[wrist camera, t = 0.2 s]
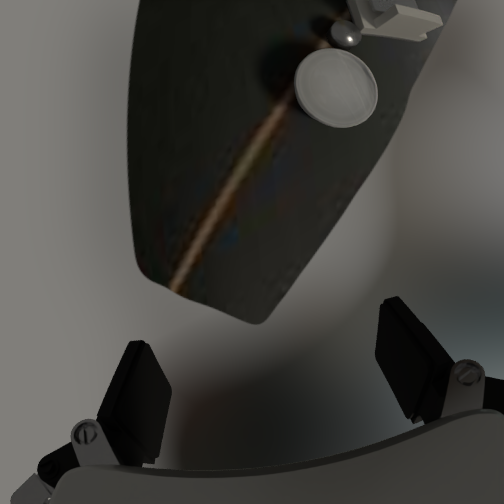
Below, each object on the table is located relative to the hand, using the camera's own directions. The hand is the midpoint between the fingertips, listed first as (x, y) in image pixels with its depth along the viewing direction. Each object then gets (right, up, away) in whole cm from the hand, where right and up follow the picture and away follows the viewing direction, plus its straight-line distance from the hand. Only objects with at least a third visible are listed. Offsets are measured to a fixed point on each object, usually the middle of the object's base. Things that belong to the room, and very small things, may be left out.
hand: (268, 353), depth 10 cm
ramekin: (+10, +26, +24) cm, 37 cm away
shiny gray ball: (+12, +35, +20) cm, 42 cm away
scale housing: (+20, +42, +17) cm, 50 cm away
